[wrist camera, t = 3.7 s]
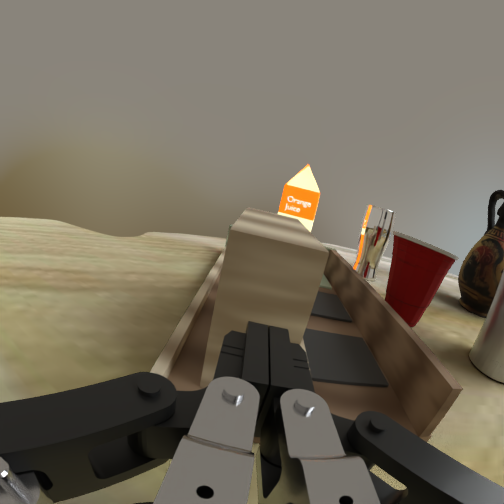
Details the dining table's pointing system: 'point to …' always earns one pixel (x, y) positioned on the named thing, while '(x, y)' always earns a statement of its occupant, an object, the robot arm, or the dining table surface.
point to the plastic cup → (415, 276)
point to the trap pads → (339, 350)
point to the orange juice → (300, 198)
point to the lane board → (363, 325)
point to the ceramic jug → (484, 264)
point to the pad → (325, 283)
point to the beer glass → (373, 240)
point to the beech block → (265, 280)
